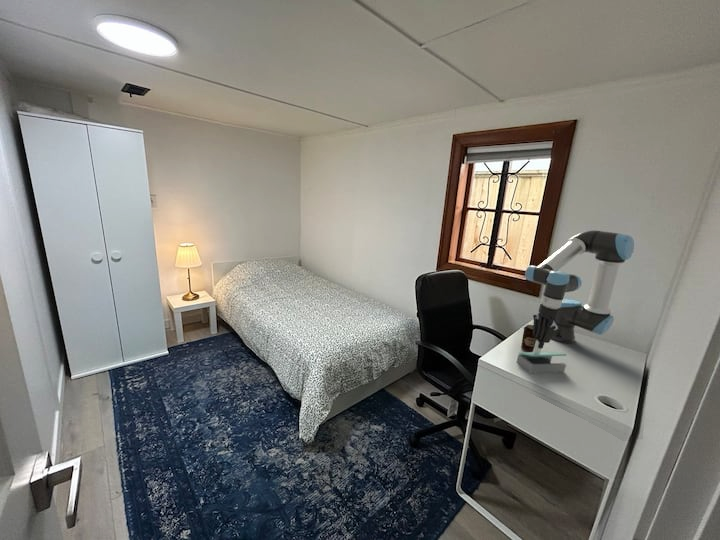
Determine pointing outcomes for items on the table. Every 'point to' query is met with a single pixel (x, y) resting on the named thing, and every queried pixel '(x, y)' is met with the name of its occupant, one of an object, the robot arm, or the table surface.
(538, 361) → the cylinder
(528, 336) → the coffee cup
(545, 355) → the cover
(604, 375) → the table surface
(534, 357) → the grey flat bent block
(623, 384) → the table surface
